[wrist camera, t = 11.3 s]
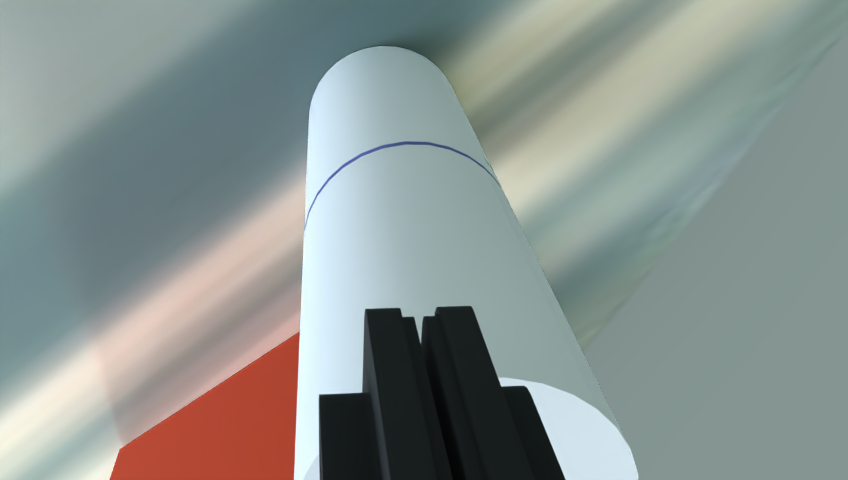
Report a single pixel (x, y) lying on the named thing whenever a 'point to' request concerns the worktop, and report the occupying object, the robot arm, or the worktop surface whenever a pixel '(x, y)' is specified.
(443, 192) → the cylindrical container
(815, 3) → the worktop surface
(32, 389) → the worktop surface
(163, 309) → the worktop surface
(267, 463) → the file binder
